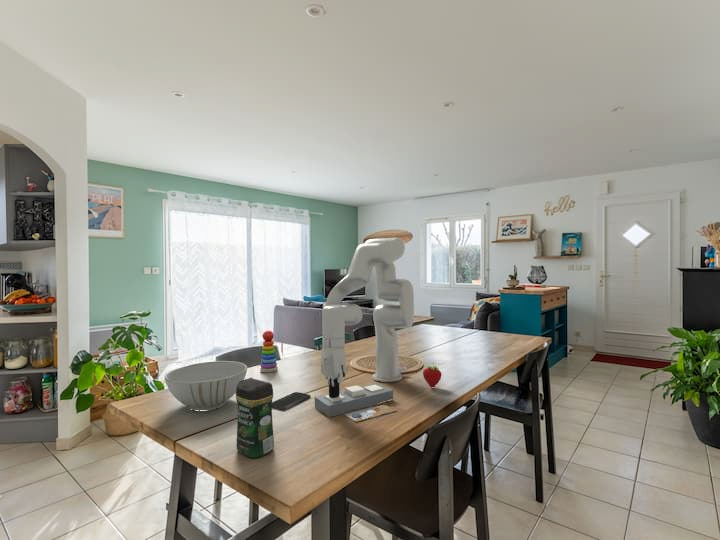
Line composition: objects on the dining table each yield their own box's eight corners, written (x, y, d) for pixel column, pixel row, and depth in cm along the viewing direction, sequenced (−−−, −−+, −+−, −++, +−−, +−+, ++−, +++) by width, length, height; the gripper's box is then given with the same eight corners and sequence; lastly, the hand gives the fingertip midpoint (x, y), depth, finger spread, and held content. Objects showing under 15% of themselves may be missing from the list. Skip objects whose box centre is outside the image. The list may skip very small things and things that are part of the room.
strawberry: (426, 383, 149) (426, 359, 149) (444, 387, 145) (444, 362, 145) (420, 388, 145) (419, 362, 144) (438, 391, 140) (437, 365, 140)
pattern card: (384, 404, 128) (384, 403, 128) (397, 411, 122) (397, 409, 122) (344, 415, 119) (344, 413, 119) (356, 422, 113) (356, 421, 113)
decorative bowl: (210, 425, 113) (210, 386, 113) (146, 414, 122) (145, 378, 122) (262, 396, 138) (262, 364, 138) (206, 388, 147) (205, 358, 147)
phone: (311, 395, 136) (283, 408, 123) (311, 398, 136) (283, 412, 123) (295, 391, 140) (266, 404, 127) (295, 394, 140) (266, 407, 127)
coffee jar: (231, 451, 97) (230, 380, 96) (256, 439, 103) (255, 373, 103) (254, 462, 91) (253, 387, 91) (279, 449, 97) (278, 379, 97)
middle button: (357, 394, 132) (356, 385, 132) (364, 398, 128) (364, 388, 128) (345, 397, 130) (344, 387, 130) (352, 402, 125) (352, 391, 125)
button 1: (337, 403, 128) (337, 392, 128) (344, 407, 124) (344, 397, 124) (324, 406, 125) (324, 395, 125) (331, 410, 121) (331, 400, 121)
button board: (376, 392, 140) (376, 383, 140) (393, 400, 132) (393, 390, 132) (314, 407, 126) (314, 396, 126) (328, 417, 118) (328, 405, 118)
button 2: (375, 394, 137) (375, 384, 137) (383, 397, 132) (383, 388, 132) (364, 396, 134) (363, 387, 134) (371, 400, 130) (371, 390, 130)
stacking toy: (281, 369, 173) (280, 330, 173) (268, 374, 166) (267, 332, 166) (269, 367, 177) (268, 328, 177) (256, 371, 170) (255, 331, 170)
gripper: (313, 340, 128) (314, 392, 129) (334, 347, 116) (335, 405, 116) (332, 337, 133) (333, 388, 133) (354, 344, 120) (355, 401, 120)
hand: (334, 396), depth 124 cm, fingers closed
